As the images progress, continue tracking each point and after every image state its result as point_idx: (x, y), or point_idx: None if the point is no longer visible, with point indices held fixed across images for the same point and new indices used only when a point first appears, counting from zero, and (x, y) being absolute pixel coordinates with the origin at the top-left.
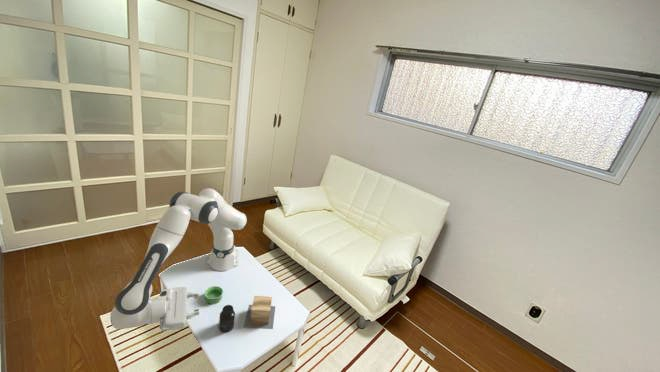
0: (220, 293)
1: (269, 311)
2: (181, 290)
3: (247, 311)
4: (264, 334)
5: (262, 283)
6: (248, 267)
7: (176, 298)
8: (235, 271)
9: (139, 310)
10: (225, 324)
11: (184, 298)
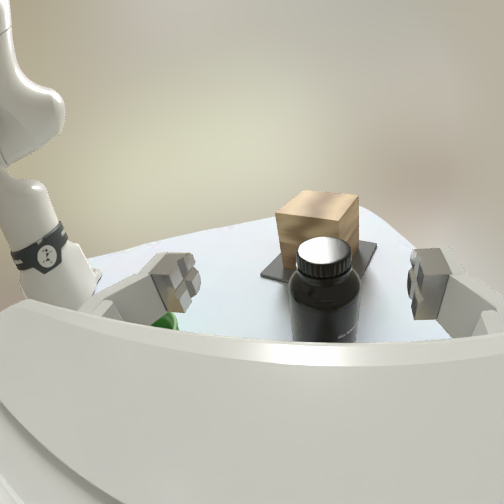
0: (156, 324)
1: (357, 198)
2: (7, 336)
3: (286, 280)
4: (388, 260)
5: (204, 243)
6: (129, 258)
7: (37, 438)
8: (113, 281)
9: None
10: (358, 311)
11: (133, 342)
